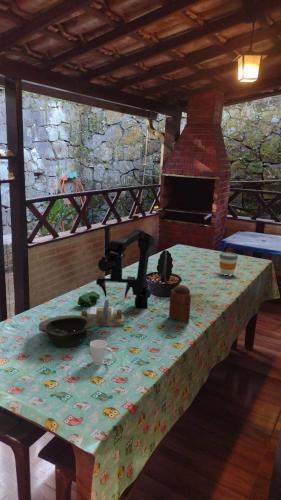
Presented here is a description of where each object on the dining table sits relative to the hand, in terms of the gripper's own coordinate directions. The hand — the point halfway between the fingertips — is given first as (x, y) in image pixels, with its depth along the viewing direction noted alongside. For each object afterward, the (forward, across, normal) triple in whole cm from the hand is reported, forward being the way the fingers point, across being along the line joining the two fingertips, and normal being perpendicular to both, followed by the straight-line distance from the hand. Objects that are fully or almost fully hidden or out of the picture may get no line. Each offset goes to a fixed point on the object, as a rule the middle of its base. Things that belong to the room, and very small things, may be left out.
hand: (115, 297), depth 178 cm
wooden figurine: (+12, -33, -3) cm, 35 cm away
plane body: (+12, +6, +1) cm, 14 cm away
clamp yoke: (+12, +4, +2) cm, 13 cm away
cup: (+13, +5, +38) cm, 41 cm away
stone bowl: (+13, +21, +18) cm, 30 cm away
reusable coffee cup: (+12, -79, -80) cm, 113 cm away
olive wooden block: (+10, +6, +2) cm, 11 cm away
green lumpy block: (+13, +14, -20) cm, 28 cm away
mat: (+12, +7, -11) cm, 18 cm away
